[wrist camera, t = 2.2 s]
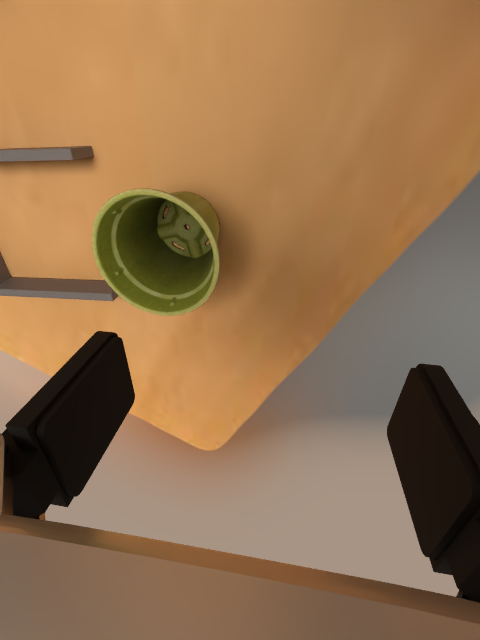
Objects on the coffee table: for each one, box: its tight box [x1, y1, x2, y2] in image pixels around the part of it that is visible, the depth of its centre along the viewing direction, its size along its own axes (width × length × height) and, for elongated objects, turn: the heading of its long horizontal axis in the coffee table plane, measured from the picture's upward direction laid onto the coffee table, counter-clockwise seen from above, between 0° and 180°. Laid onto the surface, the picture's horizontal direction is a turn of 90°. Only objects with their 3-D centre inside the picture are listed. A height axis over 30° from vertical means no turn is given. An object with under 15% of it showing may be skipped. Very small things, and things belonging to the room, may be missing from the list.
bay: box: [0, 146, 119, 301], centre depth 30 cm, size 15×14×3 cm
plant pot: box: [92, 189, 220, 316], centre depth 26 cm, size 9×9×9 cm
